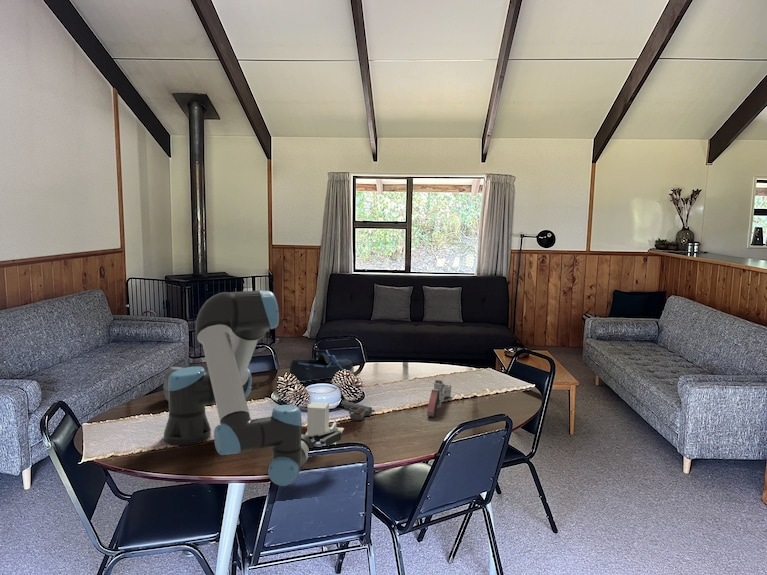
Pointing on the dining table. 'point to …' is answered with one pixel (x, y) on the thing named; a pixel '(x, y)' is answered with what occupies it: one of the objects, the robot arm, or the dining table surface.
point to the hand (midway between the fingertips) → (314, 425)
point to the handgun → (357, 410)
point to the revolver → (437, 397)
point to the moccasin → (318, 367)
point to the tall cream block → (317, 418)
